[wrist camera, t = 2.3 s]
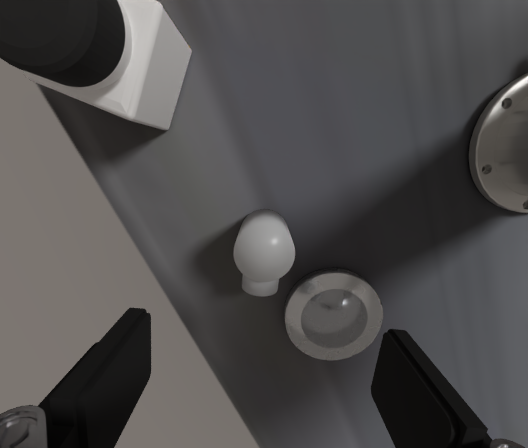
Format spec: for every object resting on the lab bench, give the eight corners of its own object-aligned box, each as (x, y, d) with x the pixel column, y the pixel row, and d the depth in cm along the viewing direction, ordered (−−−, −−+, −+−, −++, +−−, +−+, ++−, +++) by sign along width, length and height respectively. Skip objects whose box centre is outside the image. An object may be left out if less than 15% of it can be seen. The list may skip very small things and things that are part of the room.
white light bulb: (242, 206, 26) (235, 220, 20) (291, 211, 26) (299, 227, 20) (237, 266, 27) (229, 296, 21) (283, 270, 27) (288, 301, 21)
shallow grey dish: (290, 263, 27) (291, 269, 25) (385, 272, 27) (393, 279, 26) (278, 346, 29) (279, 356, 28) (366, 354, 30) (372, 364, 28)
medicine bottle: (193, 49, 22) (117, -69, 11) (169, 132, 24) (80, 107, 12) (111, 13, 22) (-66, -156, 10) (91, 100, 23) (-81, 42, 12)
